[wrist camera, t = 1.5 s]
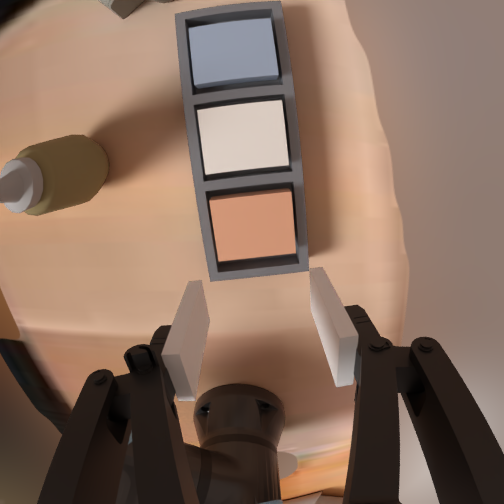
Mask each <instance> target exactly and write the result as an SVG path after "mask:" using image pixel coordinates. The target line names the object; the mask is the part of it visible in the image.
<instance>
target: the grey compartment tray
mask: <svg viewBox="0 0 504 504" xmlns="http://www.w3.org/2000/svg"><path fill="white" fill-rule="evenodd" d="M267 18H271V25H272V31H273V38H274V45H275V52H276V59H277V66H278V74H279V75H278V77H277V79H276V80H265V81H254V82H245V83H236V84H228V85H221V86H214V87H207V88H201V89H198V88H197V87H196V86H195V85H194V78H193V68H192V59H191V49H190V39H189V28H193V27H198V26H204V25H211V24H217V23H225V22H233V21H242V20H253V19H267ZM175 23H176V35H177V47H178V58H179V68H180V78H181V87H182V96H183V105H184V113H185V121H186V129H187V137H188V145H189V152H190V159H191V167H192V174H193V180H194V187H195V194H196V200H197V207H198V213H199V219H200V225H201V231H202V237H203V243H204V249H205V255H206V260H207V266H208V271H209V277H210V282H212V281H222V280H232V279H241V278H251V277H260V276H269V275H278V274H287V273H296V272H304V271H309V259H308V239H307V222H306V207H305V194H304V181H303V169H302V158H301V147H300V137H299V128H298V118H297V110H296V101H295V93H294V85H293V77H292V70H291V63H290V56H289V49H288V42H287V36H286V29H285V23H284V17H283V11H282V6H281V1H268V2H252V3H241V4H232V5H224V6H216V7H209V8H203V9H197V10H192V11H187V12H182V13H177V14H175ZM278 100H282V106H283V114H284V123H285V132H286V142H287V151H288V161H289V165H286V166H275V167H265V168H256V169H247V170H238V171H230V172H222V173H215V174H207V175H206V174H205V167H204V159H203V152H202V144H201V137H200V129H199V121H198V113H197V110H201V109H208V108H214V107H221V106H229V105H237V104H245V103H255V102H266V101H278ZM282 188H289V189H290V191H291V194H292V206H293V219H294V232H295V246H296V253H292V254H283V255H274V256H265V257H256V258H247V259H237V260H228V261H219V260H218V254H217V248H216V241H215V235H214V228H213V222H212V215H211V209H210V202H209V201H210V199H211V197H212V196H220V195H228V194H236V193H244V192H253V191H262V190H272V189H282Z"/></svg>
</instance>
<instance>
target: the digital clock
mask: <svg viewBox="0 0 504 504" xmlns="http://www.w3.org/2000/svg"><path fill="white" fill-rule="evenodd" d="M98 1H100V2H101V3H102V4H104V5H105V6H106V7H108V8H109V9H110V10H112V11H113V12H114V13H115V14H117V15H118V16H119V17H121V18H122V19H124V18H126V17H127V16H128V15H129V14H130V13H131V12H132V11H133V10H134V9H136V8H137V7H138V6H139V5H140V4H141V3H142V2H143V1H145V0H98ZM151 1H156V2H160V3H167V2H170V1H173V0H151Z"/></svg>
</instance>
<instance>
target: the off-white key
mask: <svg viewBox="0 0 504 504" xmlns="http://www.w3.org/2000/svg"><path fill="white" fill-rule="evenodd" d="M197 113H198V121H199V129H200V137H201V144H202V152H203V159H204V167H205V174H206V175H207V174H215V173H222V172H230V171H238V170H247V169H256V168H265V167H275V166H286V165H289V161H288V151H287V142H286V132H285V123H284V114H283V106H282V100H278V101H266V102H255V103H245V104H237V105H229V106H221V107H214V108H208V109H201V110H197Z"/></svg>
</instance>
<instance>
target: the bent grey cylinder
mask: <svg viewBox="0 0 504 504" xmlns="http://www.w3.org/2000/svg"><path fill="white" fill-rule="evenodd" d="M322 492H323V491H321V492H318V493H314V494H311V495H307V496H303V497H299V498H295V499H291V500H286V501H283V504H342V502H343V497H333V496H324V495H321V494H322Z"/></svg>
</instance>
